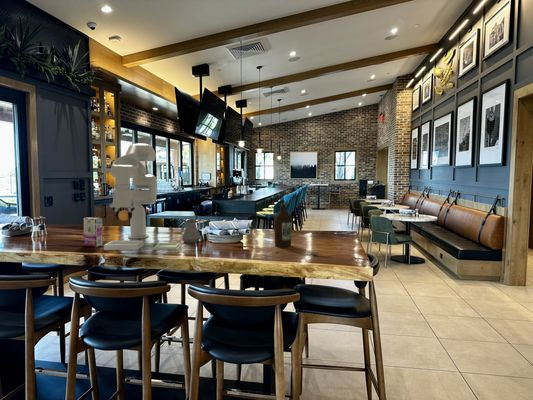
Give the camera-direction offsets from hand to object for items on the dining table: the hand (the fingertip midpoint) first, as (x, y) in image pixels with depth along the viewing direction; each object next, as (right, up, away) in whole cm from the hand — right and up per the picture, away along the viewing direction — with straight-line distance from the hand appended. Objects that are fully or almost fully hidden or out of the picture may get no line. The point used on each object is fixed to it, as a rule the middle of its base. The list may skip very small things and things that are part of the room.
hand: (124, 218), depth 196 cm
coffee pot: (+35, -15, +24) cm, 45 cm away
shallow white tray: (0, -17, +1) cm, 17 cm away
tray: (+24, -17, +2) cm, 29 cm away
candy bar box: (-20, -16, +6) cm, 27 cm away
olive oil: (+91, -17, +7) cm, 93 cm away
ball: (0, -1, 0) cm, 1 cm away
